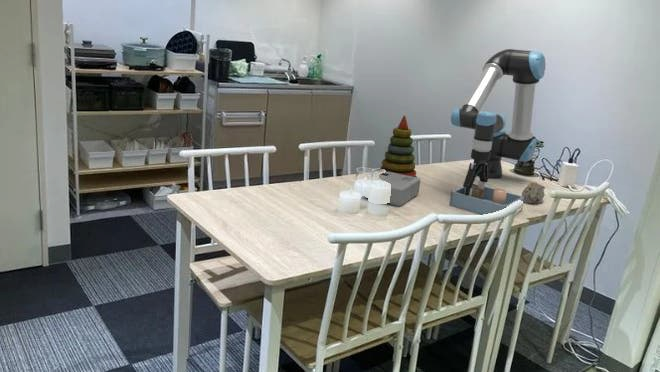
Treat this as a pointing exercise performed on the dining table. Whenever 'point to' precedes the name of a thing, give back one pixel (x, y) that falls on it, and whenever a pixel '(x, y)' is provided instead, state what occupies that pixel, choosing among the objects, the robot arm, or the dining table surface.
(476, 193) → the cube
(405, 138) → the toy
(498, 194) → the cylinder
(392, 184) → the projector
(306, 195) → the dining table surface
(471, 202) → the tote
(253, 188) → the dining table surface
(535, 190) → the rock
